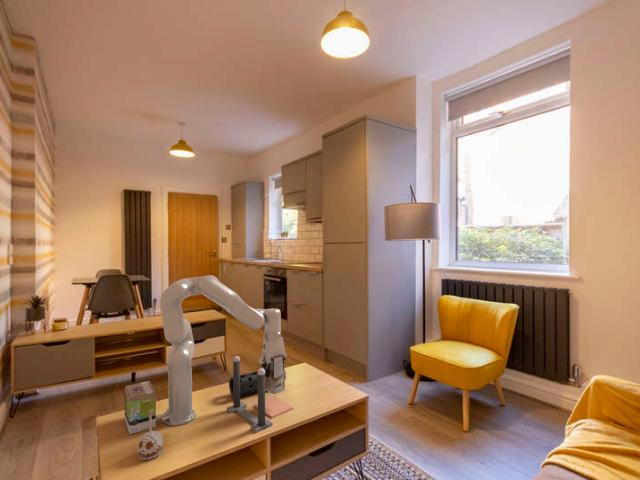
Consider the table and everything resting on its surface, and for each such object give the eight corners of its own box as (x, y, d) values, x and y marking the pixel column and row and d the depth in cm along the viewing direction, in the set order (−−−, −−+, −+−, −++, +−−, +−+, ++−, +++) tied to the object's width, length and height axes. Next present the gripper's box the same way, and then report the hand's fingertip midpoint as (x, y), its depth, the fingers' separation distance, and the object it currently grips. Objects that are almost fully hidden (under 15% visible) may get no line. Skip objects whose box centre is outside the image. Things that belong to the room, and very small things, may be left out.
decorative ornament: (133, 460, 116) (132, 417, 116) (147, 447, 124) (147, 406, 124) (153, 462, 115) (153, 419, 115) (166, 449, 123) (166, 408, 123)
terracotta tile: (271, 418, 143) (271, 416, 143) (253, 406, 154) (253, 404, 154) (293, 408, 151) (293, 407, 152) (274, 397, 163) (274, 396, 163)
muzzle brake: (228, 394, 167) (228, 374, 167) (278, 381, 182) (278, 362, 183) (235, 402, 159) (235, 380, 159) (286, 387, 174) (286, 367, 175)
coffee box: (285, 390, 152) (284, 355, 152) (274, 395, 148) (273, 358, 148) (273, 384, 159) (272, 351, 159) (262, 389, 154) (261, 354, 154)
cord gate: (255, 433, 132) (255, 372, 133) (226, 410, 151) (226, 357, 151) (272, 425, 138) (272, 367, 138) (242, 404, 156) (242, 353, 156)
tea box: (156, 426, 138) (156, 391, 138) (129, 435, 132) (129, 398, 132) (149, 412, 150) (149, 379, 150) (124, 419, 144) (123, 385, 144)
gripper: (261, 341, 145) (261, 382, 145) (292, 333, 156) (293, 371, 156) (252, 337, 150) (252, 377, 150) (283, 330, 162) (283, 367, 162)
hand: (273, 374), depth 153 cm, fingers closed on coffee box, 6 cm apart
